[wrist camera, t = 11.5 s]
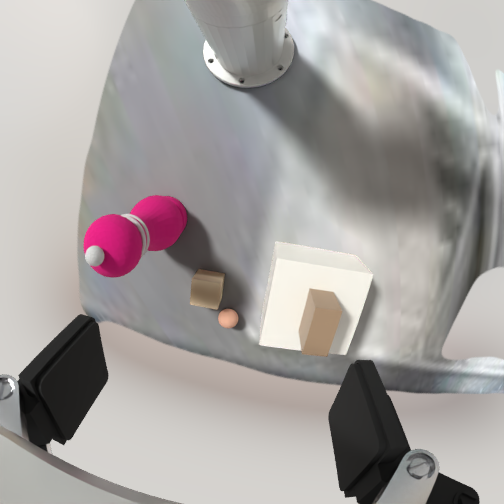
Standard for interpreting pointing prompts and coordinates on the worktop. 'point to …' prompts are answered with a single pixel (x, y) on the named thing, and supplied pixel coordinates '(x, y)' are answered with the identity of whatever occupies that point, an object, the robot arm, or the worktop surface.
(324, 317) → the cover
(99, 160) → the worktop surface
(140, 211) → the pepper mill
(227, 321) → the terracotta ball
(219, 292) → the pine cube
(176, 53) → the worktop surface
